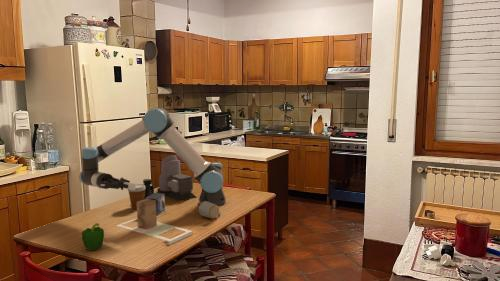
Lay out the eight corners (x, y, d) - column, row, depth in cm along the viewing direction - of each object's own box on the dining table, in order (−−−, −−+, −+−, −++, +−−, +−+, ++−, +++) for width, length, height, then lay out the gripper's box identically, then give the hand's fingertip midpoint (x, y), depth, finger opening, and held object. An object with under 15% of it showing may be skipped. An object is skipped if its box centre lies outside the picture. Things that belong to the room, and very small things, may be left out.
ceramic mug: (209, 220, 186) (209, 205, 185) (198, 217, 191) (198, 202, 190) (224, 215, 194) (224, 201, 193) (213, 212, 199) (213, 198, 198)
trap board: (116, 228, 177) (115, 225, 176) (139, 220, 188) (139, 217, 188) (169, 244, 157) (169, 241, 157) (192, 234, 169) (192, 230, 169)
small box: (157, 219, 189) (156, 198, 188) (145, 218, 191) (144, 198, 189) (166, 212, 200) (165, 193, 198) (154, 211, 201) (153, 192, 200)
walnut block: (137, 227, 174) (136, 201, 172) (147, 223, 179) (146, 198, 177) (146, 229, 171) (145, 203, 169) (156, 225, 176) (155, 200, 174)
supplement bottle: (139, 199, 223) (138, 180, 222) (149, 197, 229) (148, 177, 227) (147, 201, 219) (146, 181, 218) (156, 199, 224) (155, 179, 223)
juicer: (151, 192, 240) (150, 154, 237) (173, 187, 251) (172, 151, 248) (176, 202, 218) (175, 160, 215) (199, 197, 229) (198, 156, 226)
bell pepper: (82, 254, 149) (80, 229, 148) (82, 246, 157) (81, 223, 155) (105, 250, 153) (104, 226, 151) (104, 243, 160) (103, 220, 159)
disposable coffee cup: (133, 211, 202) (131, 189, 201) (125, 207, 209) (124, 186, 208) (149, 207, 208) (148, 186, 207) (141, 203, 216) (140, 183, 214)
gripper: (114, 185, 195) (145, 191, 182) (91, 190, 185) (122, 198, 172) (113, 170, 194) (144, 176, 181) (90, 175, 184) (122, 181, 171)
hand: (134, 187), depth 176 cm, fingers closed
